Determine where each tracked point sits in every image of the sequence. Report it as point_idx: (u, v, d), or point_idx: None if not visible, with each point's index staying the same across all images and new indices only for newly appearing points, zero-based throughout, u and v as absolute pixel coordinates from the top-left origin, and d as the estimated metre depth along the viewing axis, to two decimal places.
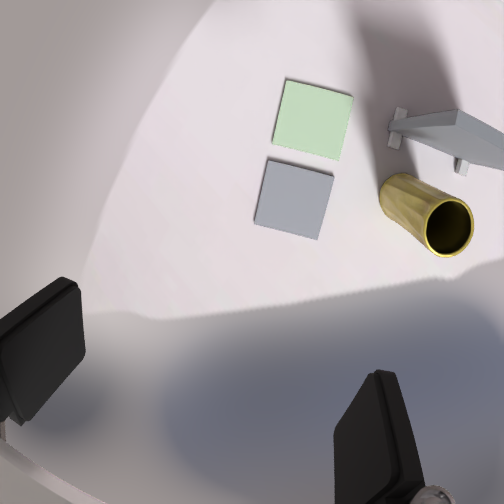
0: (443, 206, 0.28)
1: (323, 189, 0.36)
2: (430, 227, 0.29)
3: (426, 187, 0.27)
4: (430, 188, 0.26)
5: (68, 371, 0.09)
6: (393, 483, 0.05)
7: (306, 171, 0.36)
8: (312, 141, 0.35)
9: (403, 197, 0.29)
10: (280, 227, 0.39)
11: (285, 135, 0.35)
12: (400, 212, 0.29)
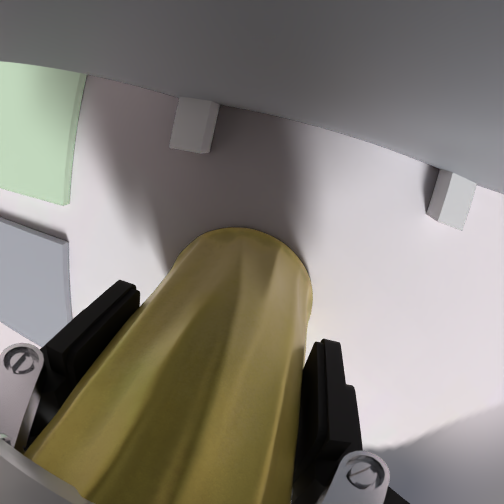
0: None
1: (51, 271, 0.14)
2: None
3: (133, 386, 0.05)
4: (120, 417, 0.04)
5: None
6: (321, 443, 0.06)
7: (21, 233, 0.14)
8: (19, 167, 0.13)
9: None
10: (20, 331, 0.17)
11: None
12: None
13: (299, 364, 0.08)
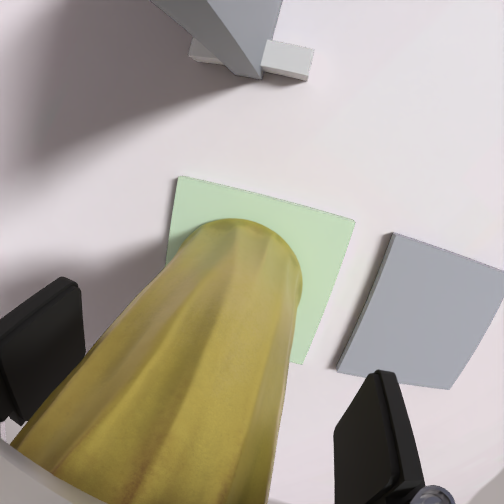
0: None
1: (421, 264, 0.13)
2: None
3: (144, 337, 0.06)
4: (134, 358, 0.05)
5: (68, 371, 0.09)
6: (393, 483, 0.05)
7: (374, 301, 0.14)
8: (302, 286, 0.15)
9: None
10: (471, 348, 0.14)
11: None
12: None
13: (286, 333, 0.09)
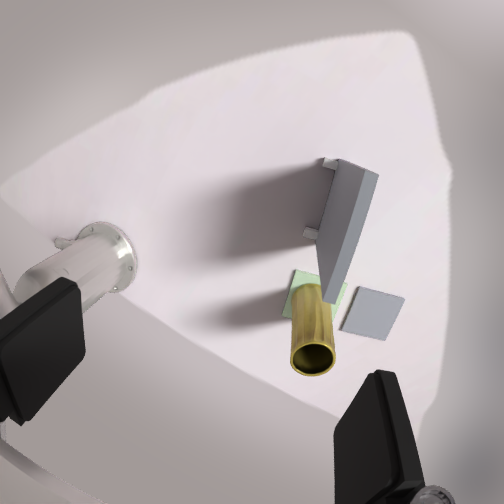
0: None
1: (368, 295, 0.46)
2: None
3: (312, 315, 0.39)
4: (313, 318, 0.38)
5: (68, 371, 0.09)
6: (393, 483, 0.05)
7: (353, 307, 0.47)
8: None
9: (295, 319, 0.40)
10: (391, 324, 0.47)
11: None
12: None
13: (331, 314, 0.41)
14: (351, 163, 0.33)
